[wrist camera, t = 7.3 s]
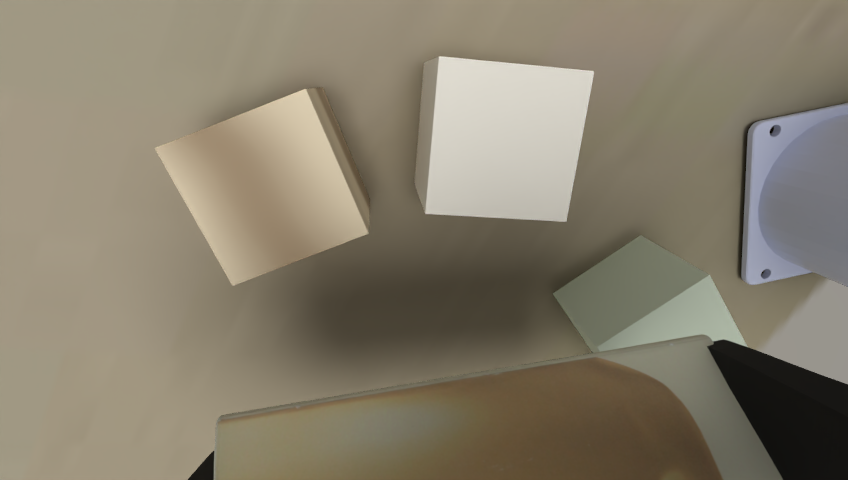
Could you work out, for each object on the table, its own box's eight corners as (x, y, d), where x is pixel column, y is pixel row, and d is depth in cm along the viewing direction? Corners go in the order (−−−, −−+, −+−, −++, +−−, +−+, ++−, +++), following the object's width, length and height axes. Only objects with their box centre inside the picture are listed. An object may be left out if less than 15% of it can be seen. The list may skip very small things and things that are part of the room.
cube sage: (639, 234, 22) (709, 274, 18) (681, 308, 24) (756, 363, 19) (551, 292, 23) (596, 347, 18) (598, 361, 25) (651, 428, 20)
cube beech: (322, 87, 19) (305, 88, 14) (370, 199, 21) (368, 233, 16) (208, 132, 19) (154, 148, 14) (265, 240, 21) (232, 285, 16)
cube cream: (542, 73, 20) (594, 71, 15) (524, 190, 21) (566, 221, 16) (423, 62, 19) (439, 56, 14) (414, 183, 21) (425, 213, 16)
